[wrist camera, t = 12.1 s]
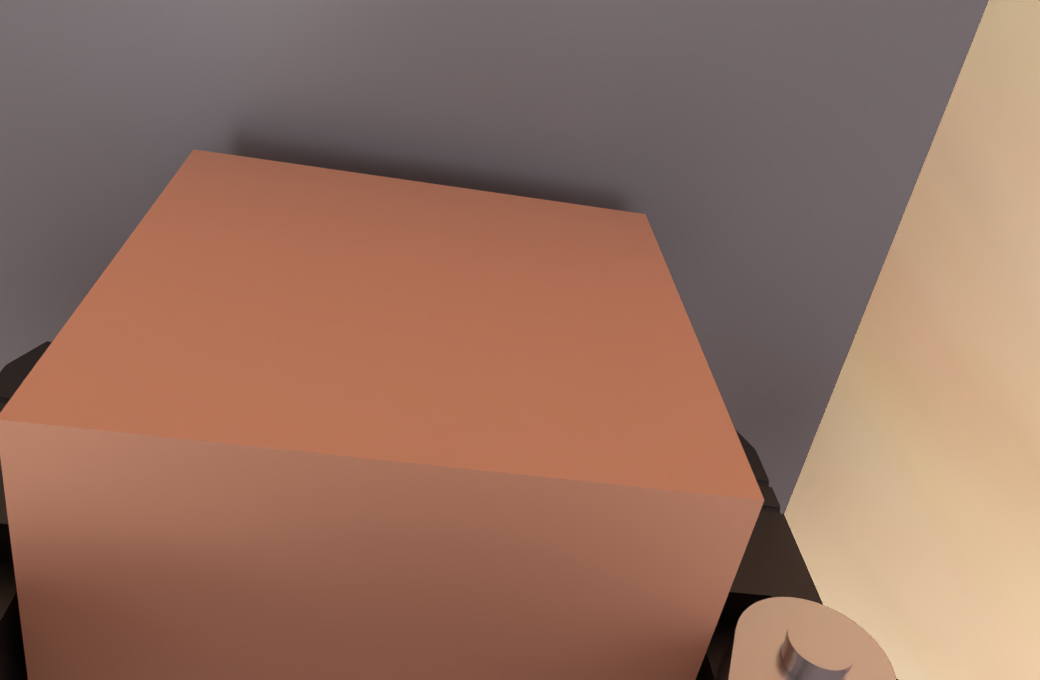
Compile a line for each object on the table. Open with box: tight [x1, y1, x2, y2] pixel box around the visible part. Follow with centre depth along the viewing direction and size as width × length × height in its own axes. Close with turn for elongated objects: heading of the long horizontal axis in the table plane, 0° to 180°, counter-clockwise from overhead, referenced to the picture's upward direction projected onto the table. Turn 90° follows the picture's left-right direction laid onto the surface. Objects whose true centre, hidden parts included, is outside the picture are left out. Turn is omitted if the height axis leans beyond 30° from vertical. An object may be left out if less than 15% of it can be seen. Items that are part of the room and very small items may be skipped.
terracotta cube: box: [0, 149, 764, 680], centre depth 10 cm, size 5×5×5 cm
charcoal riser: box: [0, 0, 988, 514], centre depth 14 cm, size 12×12×3 cm
